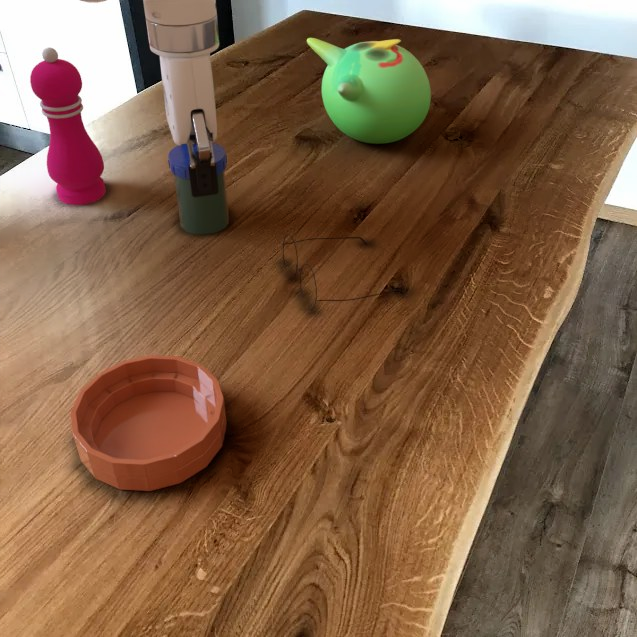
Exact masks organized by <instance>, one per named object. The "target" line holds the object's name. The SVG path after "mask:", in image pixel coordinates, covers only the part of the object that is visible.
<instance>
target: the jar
mask: <svg viewBox="0 0 637 637" xmlns="http://www.w3.org/2000/svg"><path fill="white" fill-rule="evenodd" d="M225 172H226V171H225V170H224V171H223V172H222V173H220V174H219V175H217V180H218V190H219V192H218V193H217V194H215V195H208V196H201V197H193V196H192V194H191V187H190V179H184V178H180V177H178V176H176V175H174V174H173V178H174V180H173V181H174V187H175V188H174V189H175V194H176V203H177V207H178V208H177V210H178V216H179V223H180V227H181V228H182V230H184V231H185V232H187V233H189V234H194V235H211V234H212V235H213V234H215V233H218V232H221V231H222V230H224V229H225V228H226V227H227V226H228V224H229V222H230V217H229V207H228V196H227V184H226V182H227V181H226V173H225Z"/></svg>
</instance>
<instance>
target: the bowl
mask: <svg viewBox="0 0 637 637" xmlns="http://www.w3.org/2000/svg"><path fill="white" fill-rule="evenodd" d="M225 406H226V405H225V398H224V395H223V392H222V389H221V386H220V383H219V380H218V378H217V377H216V376H215V375H214V374H213V373H212V372H210V371H209V370H208V369H207V368H206V367H205V366H204V365H202V364H201V363H199V362H196V361H193V360H190V359H187V358H185V357H182V356H178V355H163V354H162V355H161V354H148V355H144V356H139V357H135V358H129V359H126V360H122V361H120V362H119V363H116V364H114V365H112V366H110V367H107V368H106V369H104V370H102V371H100V372H98V373H97V374H96V375H95V376H94V377H93V378H92V379H91V380H90V381H89V382H88V383H86V384H85V386H83V387H82V388H81V389H80V390H79V392H78V394H77V397H76V399H75V401H74V403H73V406H72V408H71V409H70V413H69V416H70V423H71V433H72V434H71V435H72V437H73V440H74V444H75V447H76V449H77V453H78V455H79V459H80V462H82V464H83V465H84V466H85V468H86V469H87V471H89V473H90V474H91V475H92V476H93V477H94V479H95V480H98V481H100V482H102V483H104V484H107V485H109V486H111V487H114V488H116V489H118V490H121V491H122V490H123V491H140V492H153V491H156V490H160V489H164V488H168V487H171V486H175V485H178V484H181V483H183V482H185V481H187V480H188V479H190V478H191V477H193V476H194V475H196V474H198V473H199V472H201V471H203V470H204V469H205V468H207V467H208V465H209V464H210V463H211V462H212V460H214V458H215V456H216V455H217V453H218V452H219V451H220V450H221V448H222V447H223V444H224V440H225V434H226V431H227V425H228V424H227V414H226V407H225Z"/></svg>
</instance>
